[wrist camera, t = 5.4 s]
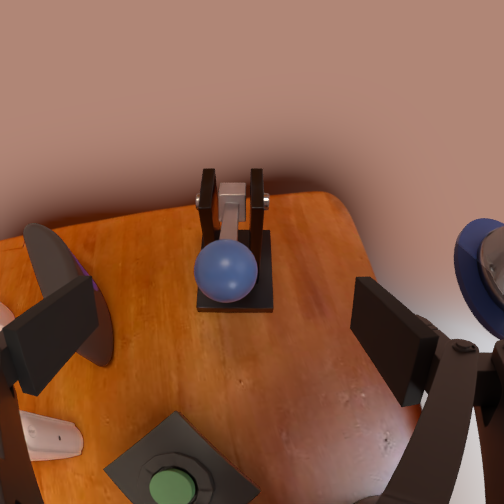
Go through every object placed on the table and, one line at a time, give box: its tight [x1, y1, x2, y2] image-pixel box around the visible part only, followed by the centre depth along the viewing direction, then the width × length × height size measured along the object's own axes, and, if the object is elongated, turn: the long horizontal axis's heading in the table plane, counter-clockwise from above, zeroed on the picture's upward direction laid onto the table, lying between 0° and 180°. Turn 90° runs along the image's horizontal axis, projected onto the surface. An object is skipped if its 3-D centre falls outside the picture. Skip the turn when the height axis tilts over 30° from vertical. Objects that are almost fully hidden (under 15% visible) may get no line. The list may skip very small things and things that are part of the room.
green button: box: [149, 469, 195, 504], centre depth 21 cm, size 4×4×2 cm
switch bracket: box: [196, 169, 273, 312], centre depth 31 cm, size 10×8×14 cm
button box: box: [103, 411, 261, 504], centre depth 23 cm, size 11×10×4 cm
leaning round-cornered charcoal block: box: [23, 223, 113, 366], centre depth 30 cm, size 16×5×9 cm, turn 40°
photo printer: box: [19, 410, 83, 461], centre depth 20 cm, size 10×4×12 cm, turn 110°
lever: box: [194, 183, 258, 303], centre depth 23 cm, size 13×4×4 cm, turn 1°
